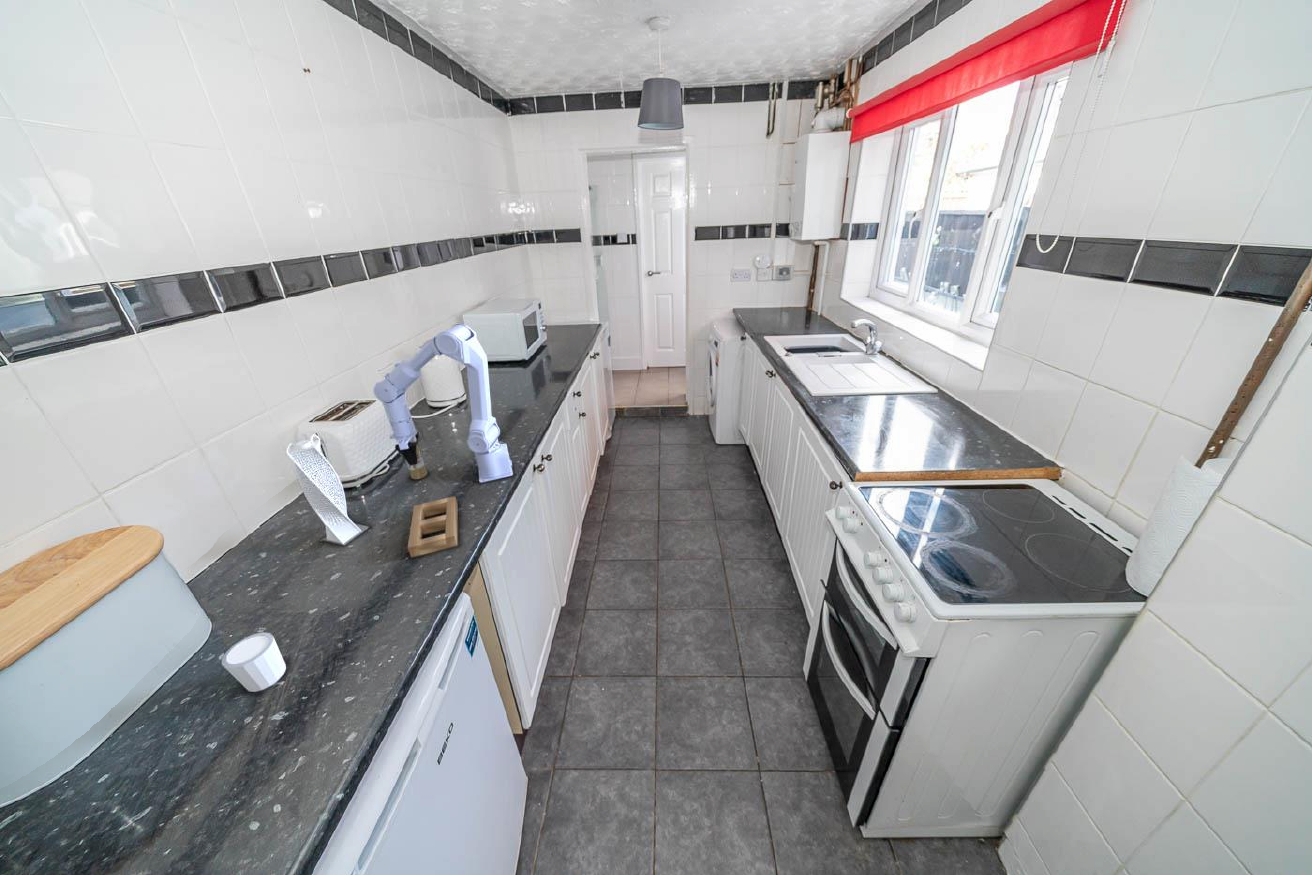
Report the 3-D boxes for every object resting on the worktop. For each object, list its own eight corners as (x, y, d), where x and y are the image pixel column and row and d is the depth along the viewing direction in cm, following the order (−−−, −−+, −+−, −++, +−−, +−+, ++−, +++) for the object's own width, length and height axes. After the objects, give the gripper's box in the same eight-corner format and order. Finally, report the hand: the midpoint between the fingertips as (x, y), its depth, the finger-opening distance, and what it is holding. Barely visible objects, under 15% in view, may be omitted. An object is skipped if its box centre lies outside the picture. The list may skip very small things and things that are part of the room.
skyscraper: (373, 528, 115) (331, 429, 102) (344, 549, 108) (295, 446, 95) (348, 523, 117) (305, 425, 104) (319, 543, 110) (268, 441, 98)
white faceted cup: (259, 660, 81) (241, 633, 78) (299, 656, 81) (282, 629, 78) (230, 697, 75) (209, 670, 72) (273, 693, 75) (254, 665, 72)
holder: (457, 505, 122) (454, 496, 121) (457, 545, 107) (454, 535, 106) (417, 514, 119) (414, 505, 118) (411, 557, 104) (407, 547, 103)
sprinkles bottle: (428, 476, 136) (415, 437, 130) (412, 481, 134) (398, 441, 128) (426, 470, 140) (413, 431, 134) (410, 475, 138) (396, 435, 132)
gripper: (388, 412, 133) (402, 452, 140) (380, 431, 121) (396, 475, 127) (414, 408, 136) (426, 447, 142) (409, 426, 123) (423, 469, 130)
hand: (414, 460), depth 135 cm, fingers closed on sprinkles bottle, 4 cm apart
